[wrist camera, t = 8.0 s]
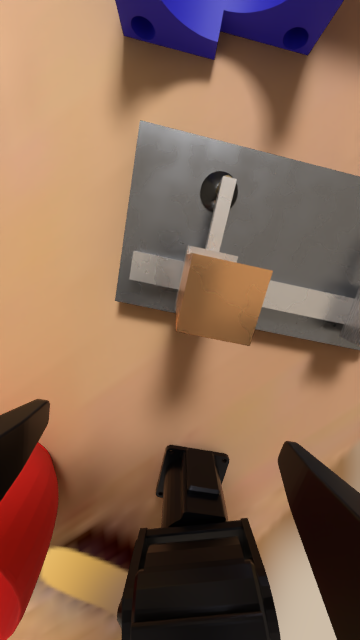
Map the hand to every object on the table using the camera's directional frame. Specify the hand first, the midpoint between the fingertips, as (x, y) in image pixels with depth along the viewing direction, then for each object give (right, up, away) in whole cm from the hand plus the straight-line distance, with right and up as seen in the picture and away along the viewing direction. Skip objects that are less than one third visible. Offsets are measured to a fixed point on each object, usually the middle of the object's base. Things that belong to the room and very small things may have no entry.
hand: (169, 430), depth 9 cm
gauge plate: (+7, +10, +10) cm, 16 cm away
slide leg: (+2, +9, +8) cm, 12 cm away
